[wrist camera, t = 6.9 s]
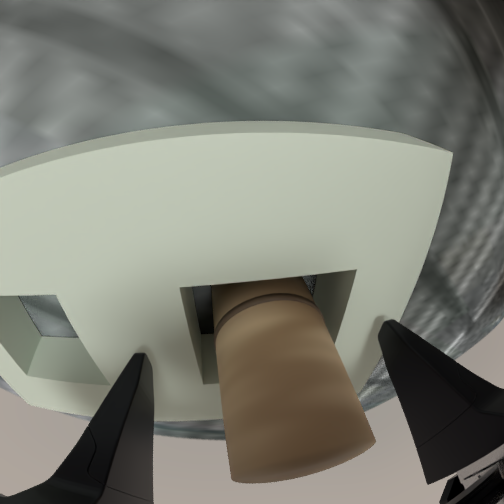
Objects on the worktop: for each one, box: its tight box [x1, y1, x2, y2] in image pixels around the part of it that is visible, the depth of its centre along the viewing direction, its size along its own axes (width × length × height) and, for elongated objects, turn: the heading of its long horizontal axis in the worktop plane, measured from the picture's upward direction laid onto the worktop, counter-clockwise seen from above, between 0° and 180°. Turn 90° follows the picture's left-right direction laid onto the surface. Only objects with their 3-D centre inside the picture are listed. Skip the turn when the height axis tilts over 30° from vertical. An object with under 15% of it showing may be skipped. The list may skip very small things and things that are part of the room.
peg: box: [211, 276, 376, 483], centre depth 9 cm, size 4×4×8 cm
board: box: [0, 121, 453, 421], centre depth 10 cm, size 22×14×3 cm, turn 90°
